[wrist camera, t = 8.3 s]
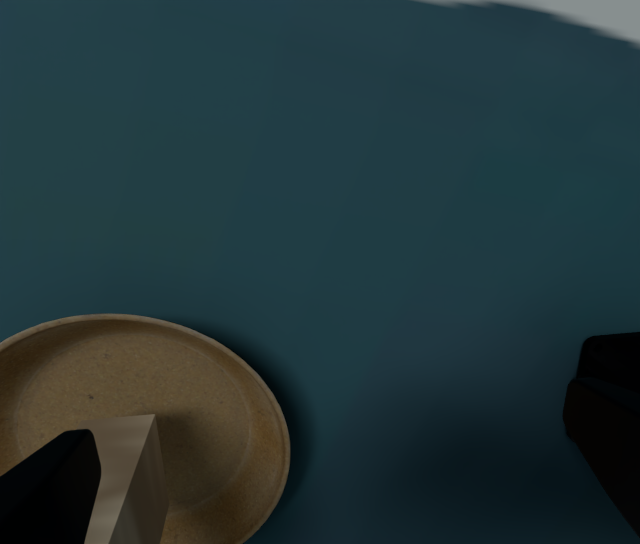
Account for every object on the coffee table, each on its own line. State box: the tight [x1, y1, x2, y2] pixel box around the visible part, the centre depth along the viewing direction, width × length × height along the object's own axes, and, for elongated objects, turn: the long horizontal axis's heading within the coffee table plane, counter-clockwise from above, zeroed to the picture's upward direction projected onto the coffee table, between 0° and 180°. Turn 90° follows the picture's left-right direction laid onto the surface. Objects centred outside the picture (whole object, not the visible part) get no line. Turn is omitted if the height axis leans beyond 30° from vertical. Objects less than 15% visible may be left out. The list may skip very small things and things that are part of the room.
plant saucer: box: [0, 314, 290, 544], centre depth 21 cm, size 15×15×3 cm
